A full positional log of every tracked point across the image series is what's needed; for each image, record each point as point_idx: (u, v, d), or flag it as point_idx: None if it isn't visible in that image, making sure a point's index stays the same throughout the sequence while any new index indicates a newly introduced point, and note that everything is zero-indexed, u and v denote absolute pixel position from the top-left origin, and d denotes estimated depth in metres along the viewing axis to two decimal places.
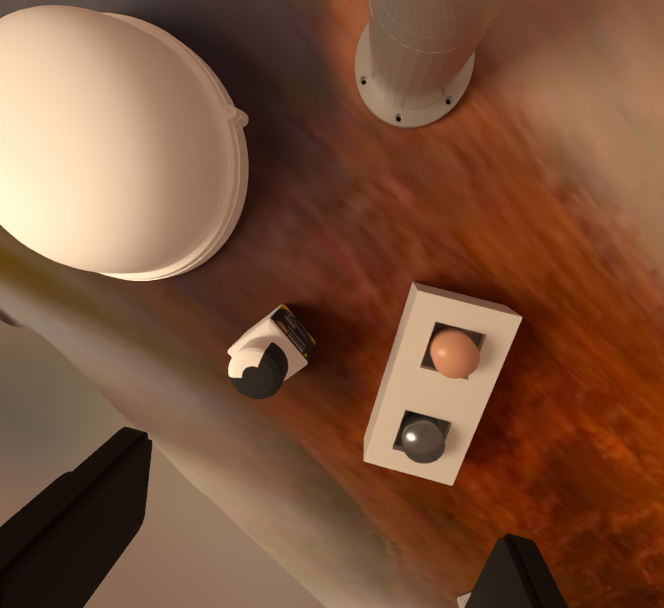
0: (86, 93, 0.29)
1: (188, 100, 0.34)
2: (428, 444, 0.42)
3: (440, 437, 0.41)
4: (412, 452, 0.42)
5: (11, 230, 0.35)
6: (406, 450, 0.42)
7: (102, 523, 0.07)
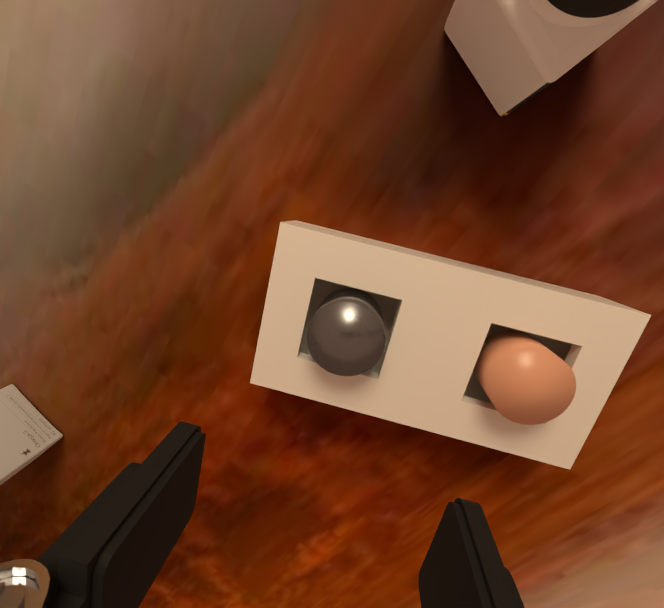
0: None
1: None
2: (350, 347, 0.22)
3: (366, 368, 0.22)
4: (328, 319, 0.22)
5: None
6: (333, 308, 0.21)
7: (168, 509, 0.08)
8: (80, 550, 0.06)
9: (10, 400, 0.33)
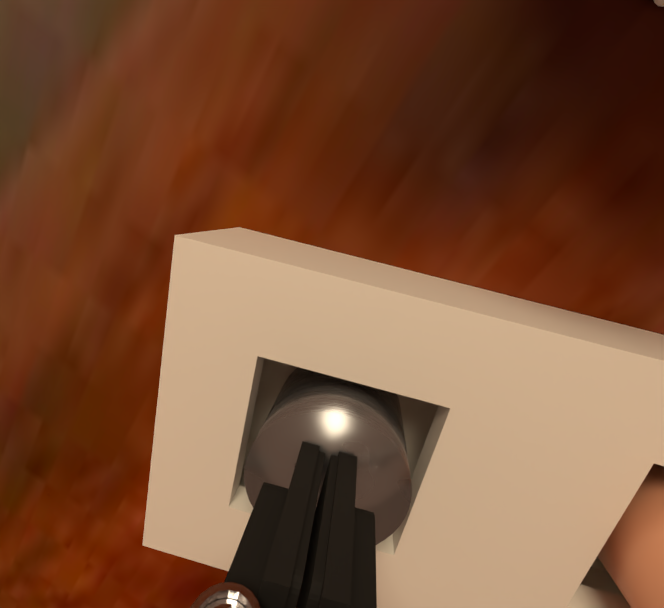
0: None
1: None
2: None
3: None
4: (288, 446, 0.10)
5: None
6: (299, 424, 0.10)
7: None
8: (278, 573, 0.06)
9: None
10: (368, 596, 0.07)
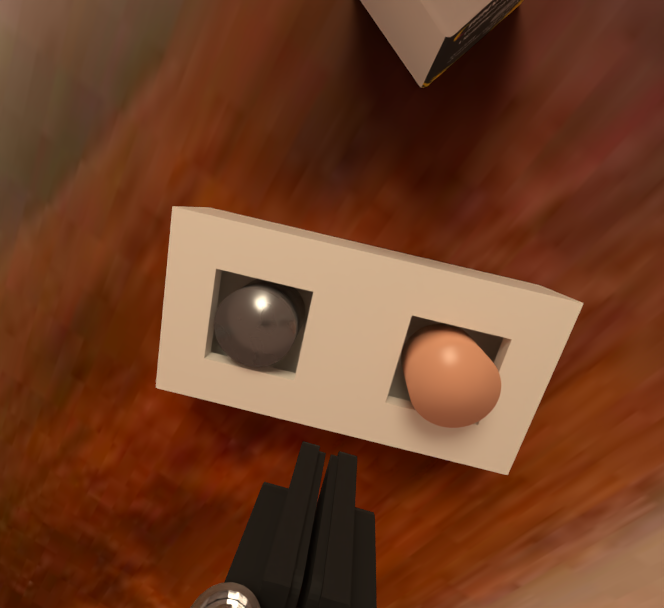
0: None
1: None
2: (259, 336, 0.21)
3: (277, 357, 0.21)
4: (235, 307, 0.21)
5: None
6: (239, 296, 0.20)
7: None
8: (278, 573, 0.06)
9: None
10: (368, 596, 0.07)
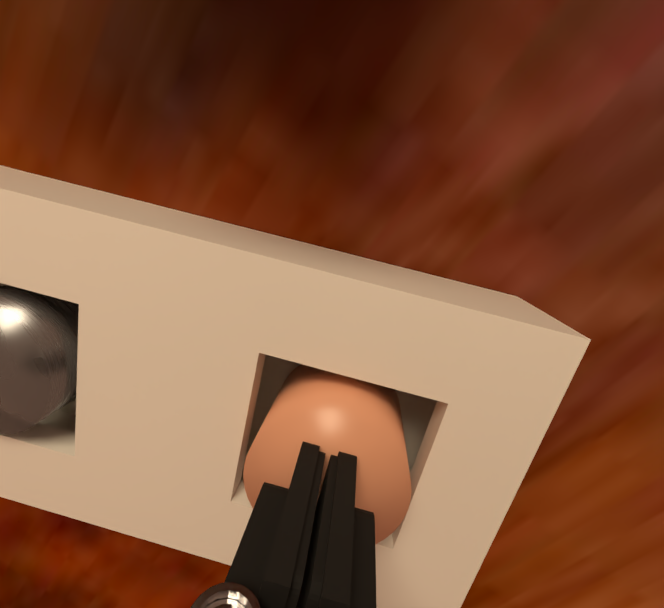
0: None
1: None
2: None
3: (29, 420, 0.12)
4: None
5: None
6: None
7: None
8: (278, 573, 0.06)
9: None
10: (368, 596, 0.07)
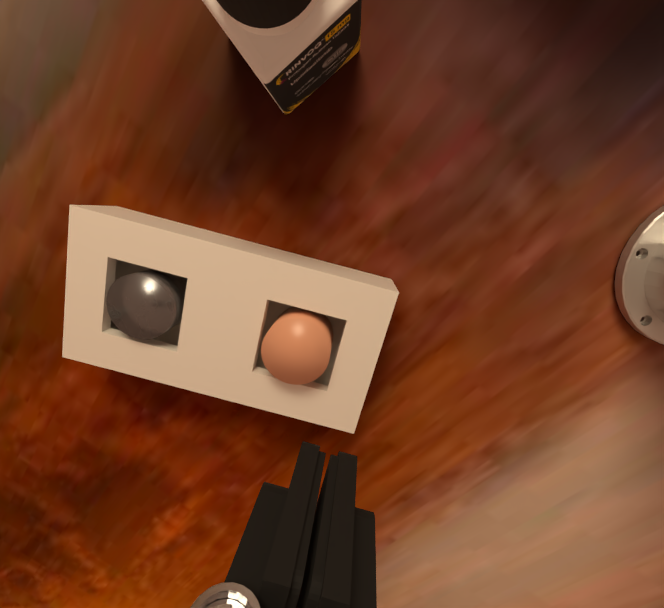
0: None
1: None
2: (144, 314, 0.25)
3: (160, 332, 0.26)
4: (122, 289, 0.25)
5: None
6: (125, 280, 0.25)
7: None
8: (278, 573, 0.06)
9: None
10: (368, 596, 0.07)
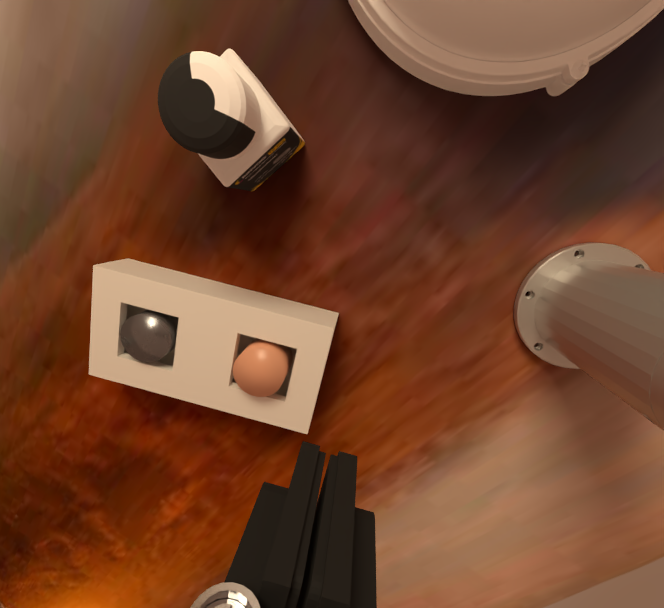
0: None
1: None
2: (147, 343, 0.34)
3: (159, 357, 0.34)
4: (131, 326, 0.34)
5: None
6: (133, 319, 0.34)
7: None
8: (278, 573, 0.06)
9: None
10: (368, 596, 0.07)
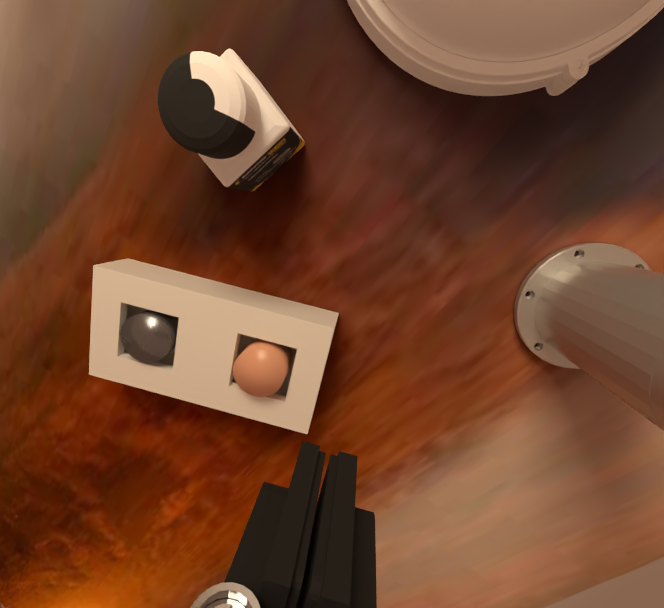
0: None
1: None
2: (147, 343, 0.34)
3: (159, 357, 0.34)
4: (131, 326, 0.34)
5: None
6: (134, 319, 0.34)
7: None
8: (278, 573, 0.06)
9: None
10: (368, 596, 0.07)
